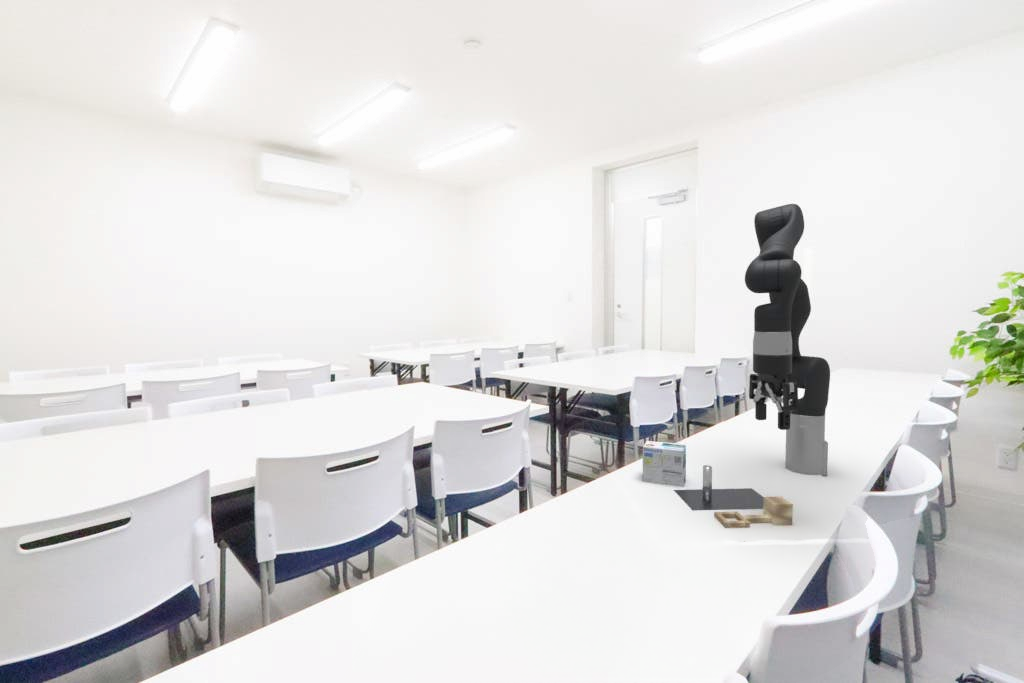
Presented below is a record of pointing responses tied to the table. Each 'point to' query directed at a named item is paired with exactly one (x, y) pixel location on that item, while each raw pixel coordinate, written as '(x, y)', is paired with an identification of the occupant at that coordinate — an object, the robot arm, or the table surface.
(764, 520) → the tan wooden piece
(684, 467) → the light bulb box
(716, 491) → the post stand
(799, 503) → the table surface
